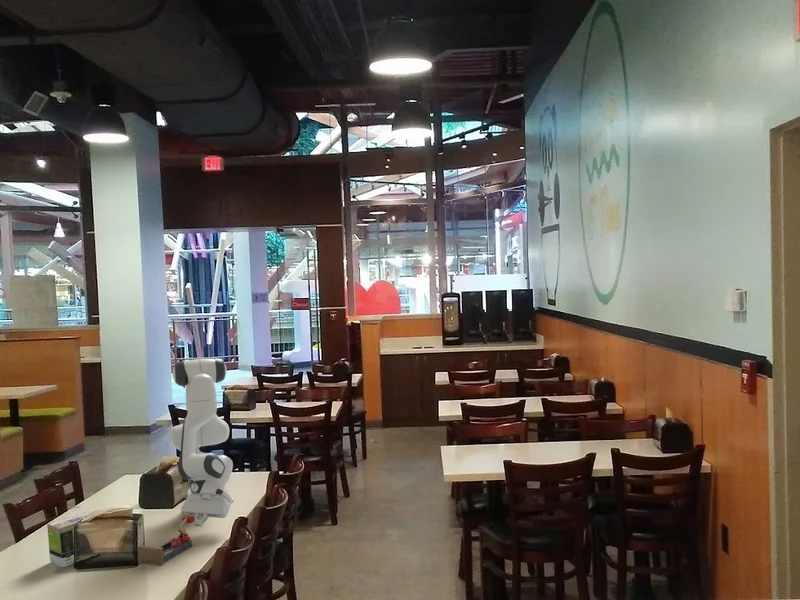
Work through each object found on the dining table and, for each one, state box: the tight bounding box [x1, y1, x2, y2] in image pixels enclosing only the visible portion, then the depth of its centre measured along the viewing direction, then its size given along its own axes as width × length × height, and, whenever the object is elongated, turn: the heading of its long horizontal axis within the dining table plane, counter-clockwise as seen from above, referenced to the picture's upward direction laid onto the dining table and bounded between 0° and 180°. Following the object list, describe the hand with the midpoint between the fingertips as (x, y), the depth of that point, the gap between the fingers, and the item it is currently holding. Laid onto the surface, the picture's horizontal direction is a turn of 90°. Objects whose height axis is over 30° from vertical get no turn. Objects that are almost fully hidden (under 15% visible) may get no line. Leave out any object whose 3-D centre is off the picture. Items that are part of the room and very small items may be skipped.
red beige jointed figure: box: [170, 516, 195, 550], centre depth 275 cm, size 3×14×10 cm, turn 168°
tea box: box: [46, 512, 92, 568], centre depth 267 cm, size 15×10×15 cm, turn 141°
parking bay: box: [137, 538, 193, 567], centre depth 266 cm, size 19×10×6 cm, turn 159°
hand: (197, 525), depth 284 cm, fingers closed
